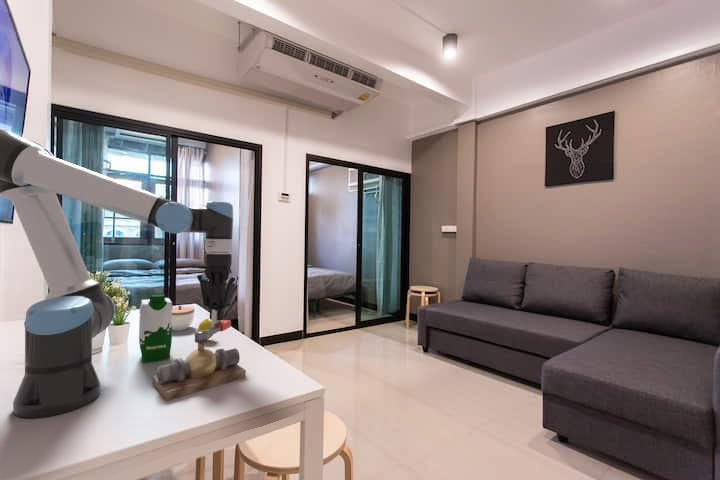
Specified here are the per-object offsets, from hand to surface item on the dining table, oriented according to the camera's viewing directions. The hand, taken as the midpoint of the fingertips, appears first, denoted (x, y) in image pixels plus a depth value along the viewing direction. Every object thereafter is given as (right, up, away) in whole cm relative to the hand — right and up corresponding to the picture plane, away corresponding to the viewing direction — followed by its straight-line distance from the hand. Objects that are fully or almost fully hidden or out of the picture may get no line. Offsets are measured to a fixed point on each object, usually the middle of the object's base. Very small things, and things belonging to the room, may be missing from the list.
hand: (216, 330), depth 103 cm
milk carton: (-21, -10, +4) cm, 24 cm away
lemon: (-13, -10, +21) cm, 27 cm away
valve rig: (0, -11, -11) cm, 15 cm away
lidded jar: (-30, -9, +35) cm, 47 cm away
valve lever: (+2, 0, -5) cm, 6 cm away
